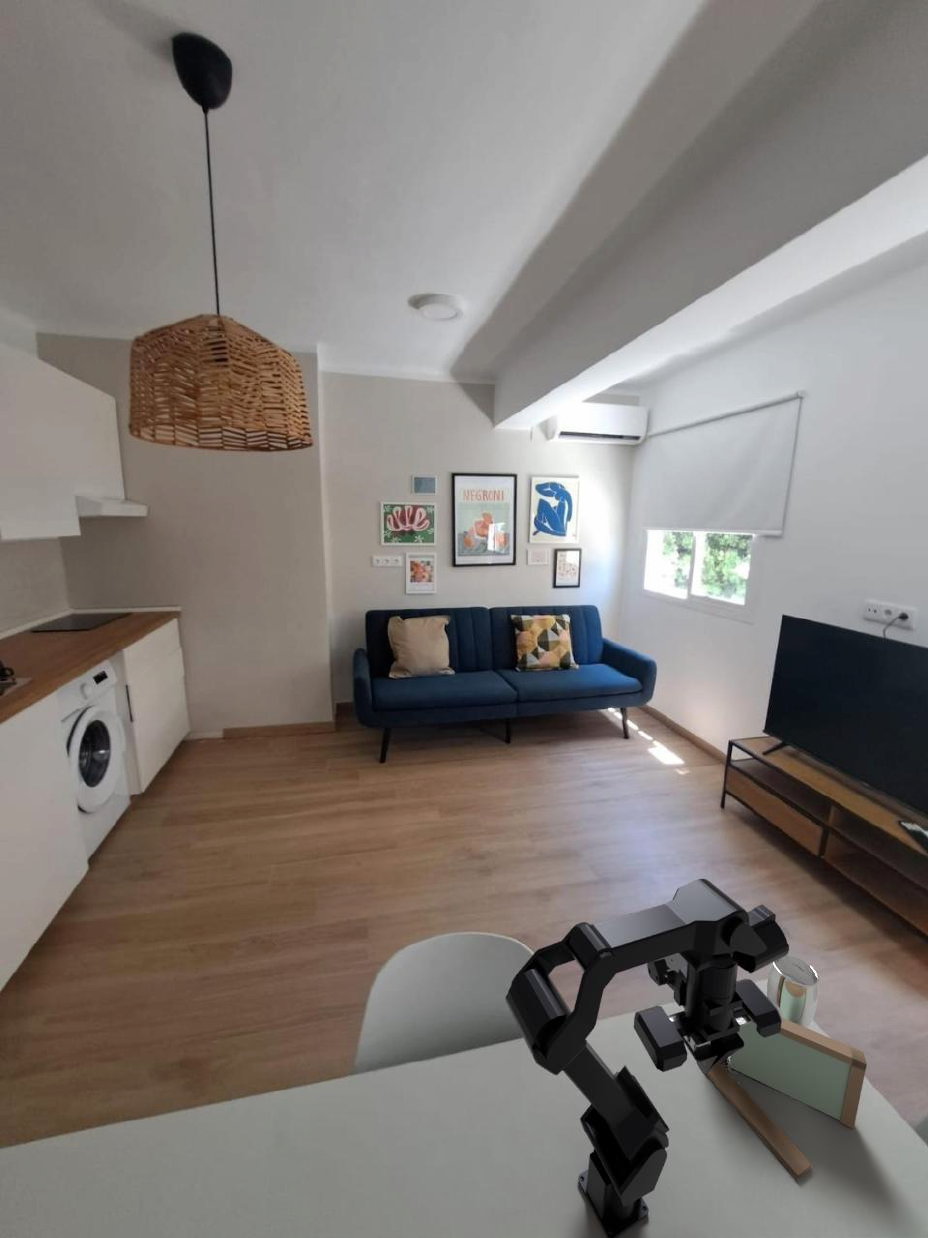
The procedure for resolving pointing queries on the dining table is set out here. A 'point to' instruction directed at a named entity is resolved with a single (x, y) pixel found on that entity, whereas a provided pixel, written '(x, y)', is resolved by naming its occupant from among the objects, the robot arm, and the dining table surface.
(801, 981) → the beer glass
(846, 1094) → the board
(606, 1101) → the robot arm
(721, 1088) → the gate frame
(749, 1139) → the dining table surface
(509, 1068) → the dining table surface
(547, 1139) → the dining table surface
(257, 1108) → the dining table surface
